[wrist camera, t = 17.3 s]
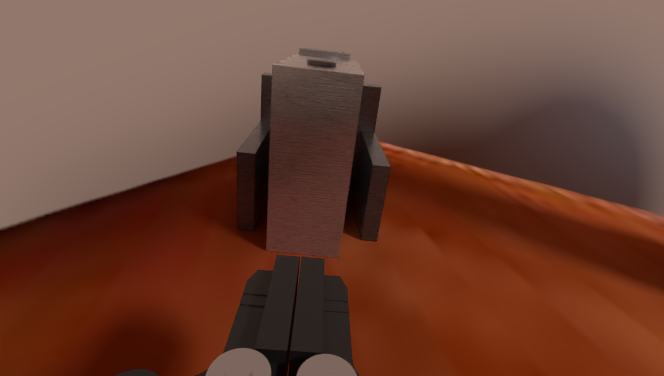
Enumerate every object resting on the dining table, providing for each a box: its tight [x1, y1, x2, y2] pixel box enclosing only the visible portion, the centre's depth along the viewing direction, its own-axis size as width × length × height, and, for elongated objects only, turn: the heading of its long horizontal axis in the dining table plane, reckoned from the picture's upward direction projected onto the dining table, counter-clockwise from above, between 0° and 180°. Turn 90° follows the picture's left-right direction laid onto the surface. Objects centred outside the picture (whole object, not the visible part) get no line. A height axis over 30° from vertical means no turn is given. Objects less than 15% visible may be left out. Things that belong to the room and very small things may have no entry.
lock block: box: [266, 55, 364, 258], centre depth 26 cm, size 5×10×12 cm, turn 179°
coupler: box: [237, 48, 390, 241], centre depth 29 cm, size 10×12×12 cm
